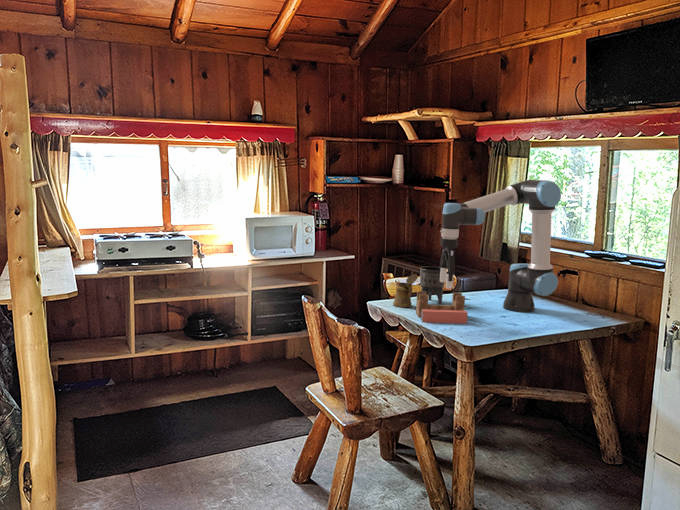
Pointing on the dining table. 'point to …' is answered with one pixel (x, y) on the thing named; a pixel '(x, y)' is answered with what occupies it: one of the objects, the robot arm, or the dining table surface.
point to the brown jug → (404, 292)
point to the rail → (444, 316)
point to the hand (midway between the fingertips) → (445, 285)
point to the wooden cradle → (422, 303)
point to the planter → (431, 281)
